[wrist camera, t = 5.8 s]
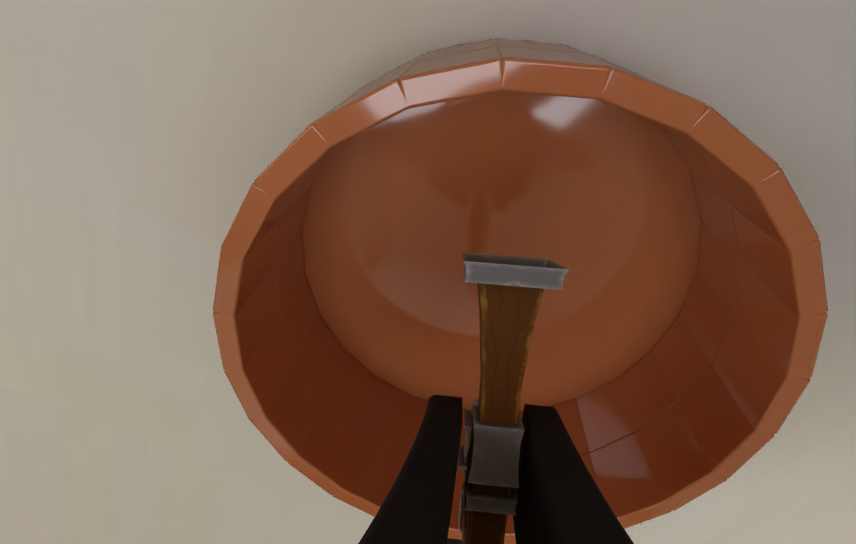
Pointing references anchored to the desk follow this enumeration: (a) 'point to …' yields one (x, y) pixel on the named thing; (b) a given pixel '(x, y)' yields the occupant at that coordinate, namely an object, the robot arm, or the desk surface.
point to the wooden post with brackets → (499, 388)
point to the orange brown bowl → (533, 238)
